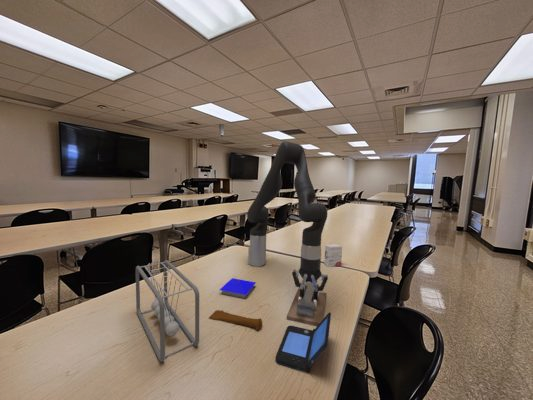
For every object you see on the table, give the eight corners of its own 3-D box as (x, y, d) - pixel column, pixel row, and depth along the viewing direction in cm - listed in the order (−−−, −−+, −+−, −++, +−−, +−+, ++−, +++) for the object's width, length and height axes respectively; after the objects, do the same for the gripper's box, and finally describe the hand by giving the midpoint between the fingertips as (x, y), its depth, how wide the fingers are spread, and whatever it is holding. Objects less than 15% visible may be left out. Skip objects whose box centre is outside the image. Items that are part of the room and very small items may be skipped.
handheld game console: (287, 328, 76) (289, 301, 75) (329, 338, 71) (331, 310, 70) (273, 364, 61) (275, 331, 60) (325, 380, 57) (327, 344, 56)
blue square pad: (219, 295, 96) (219, 282, 95) (231, 282, 107) (232, 271, 107) (245, 300, 92) (246, 287, 92) (256, 287, 104) (256, 275, 103)
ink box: (337, 263, 136) (338, 243, 135) (341, 266, 131) (342, 246, 130) (323, 263, 134) (324, 244, 133) (327, 267, 130) (328, 246, 128)
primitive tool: (207, 319, 79) (207, 310, 79) (216, 311, 85) (216, 302, 84) (259, 333, 73) (259, 323, 73) (265, 323, 78) (265, 313, 78)
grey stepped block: (296, 315, 81) (297, 304, 80) (305, 290, 99) (305, 281, 98) (312, 318, 79) (313, 307, 79) (318, 293, 97) (319, 283, 97)
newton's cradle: (136, 312, 82) (135, 264, 80) (166, 303, 88) (166, 258, 87) (161, 366, 59) (160, 300, 57) (199, 348, 66) (200, 288, 64)
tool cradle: (286, 319, 80) (287, 305, 80) (298, 290, 101) (298, 279, 100) (321, 327, 76) (322, 312, 76) (326, 295, 97) (326, 284, 97)
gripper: (290, 256, 85) (288, 299, 87) (329, 261, 81) (327, 307, 83) (294, 250, 93) (292, 291, 94) (330, 255, 88) (328, 297, 90)
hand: (308, 298), depth 88 cm, fingers open, 4 cm apart
